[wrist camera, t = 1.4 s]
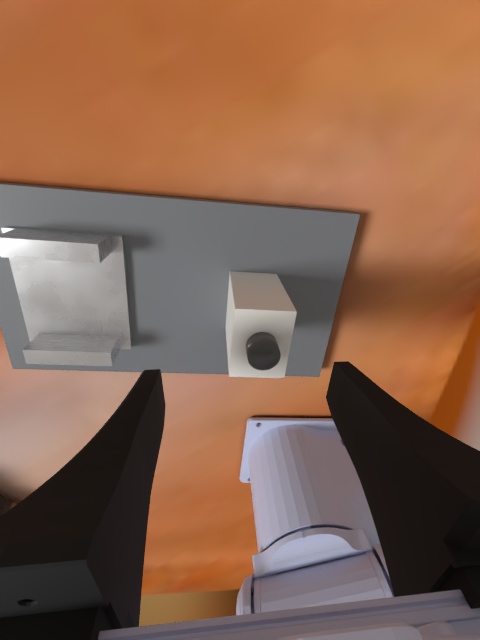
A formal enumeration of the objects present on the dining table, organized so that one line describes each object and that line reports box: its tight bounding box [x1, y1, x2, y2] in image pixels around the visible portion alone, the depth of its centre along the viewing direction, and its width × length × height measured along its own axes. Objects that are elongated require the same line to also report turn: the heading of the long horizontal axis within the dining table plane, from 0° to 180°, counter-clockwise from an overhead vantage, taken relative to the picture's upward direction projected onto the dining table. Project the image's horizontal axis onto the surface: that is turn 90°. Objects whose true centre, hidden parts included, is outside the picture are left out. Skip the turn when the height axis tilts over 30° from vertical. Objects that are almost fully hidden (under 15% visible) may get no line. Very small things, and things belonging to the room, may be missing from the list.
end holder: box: [0, 226, 133, 366], centre depth 19 cm, size 6×8×2 cm
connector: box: [226, 271, 297, 378], centre depth 18 cm, size 3×4×6 cm
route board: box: [0, 182, 360, 377], centre depth 21 cm, size 22×12×1 cm, turn 85°
